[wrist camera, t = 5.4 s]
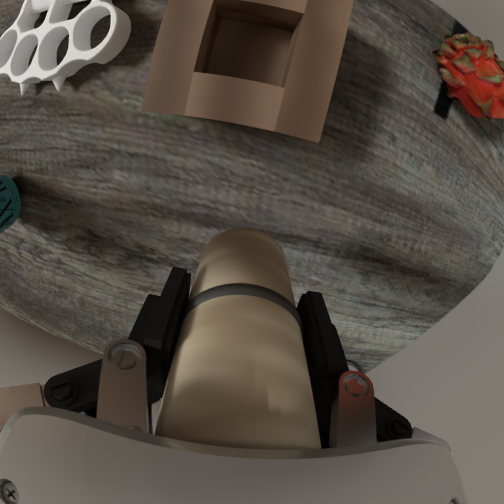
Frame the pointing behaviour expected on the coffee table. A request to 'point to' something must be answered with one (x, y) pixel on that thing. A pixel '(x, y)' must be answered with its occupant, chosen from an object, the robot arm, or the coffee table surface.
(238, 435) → the peg
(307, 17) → the socket block
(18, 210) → the beverage bottle
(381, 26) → the coffee table surface
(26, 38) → the knuckle duster
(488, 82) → the dragon fruit
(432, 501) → the robot arm
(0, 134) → the coffee table surface
